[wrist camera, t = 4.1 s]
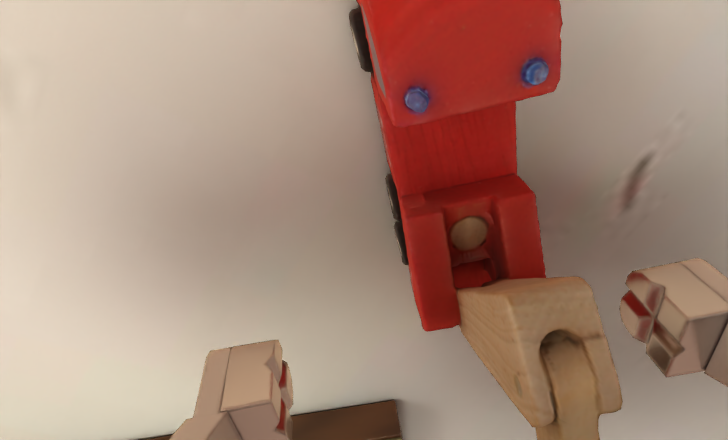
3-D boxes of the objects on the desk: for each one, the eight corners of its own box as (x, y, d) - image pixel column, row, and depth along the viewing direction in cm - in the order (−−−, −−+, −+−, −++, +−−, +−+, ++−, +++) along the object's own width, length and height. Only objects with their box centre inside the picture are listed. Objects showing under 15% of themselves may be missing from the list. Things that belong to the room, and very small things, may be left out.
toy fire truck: (480, -94, 10) (1297, -184, 2) (499, 323, 17) (662, 662, 9) (332, -57, 10) (443, 26, 2) (416, 342, 17) (508, 694, 9)
